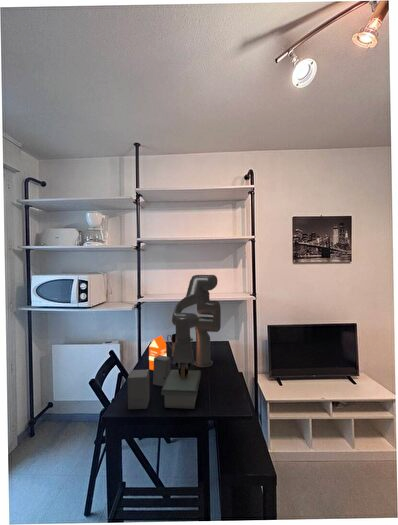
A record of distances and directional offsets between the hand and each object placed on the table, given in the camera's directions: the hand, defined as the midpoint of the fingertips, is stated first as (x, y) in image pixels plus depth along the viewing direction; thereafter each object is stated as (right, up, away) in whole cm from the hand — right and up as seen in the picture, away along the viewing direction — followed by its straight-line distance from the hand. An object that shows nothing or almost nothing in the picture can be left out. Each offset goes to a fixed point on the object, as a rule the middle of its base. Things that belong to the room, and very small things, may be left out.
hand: (183, 375), depth 131 cm
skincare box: (-13, -10, +11) cm, 20 cm away
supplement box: (-21, -10, -9) cm, 25 cm away
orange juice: (-19, -10, +33) cm, 39 cm away
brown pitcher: (-10, -10, +56) cm, 58 cm away
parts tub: (0, -10, -3) cm, 10 cm away
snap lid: (0, -3, -3) cm, 4 cm away
